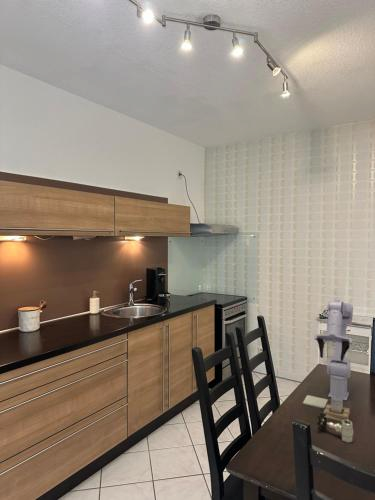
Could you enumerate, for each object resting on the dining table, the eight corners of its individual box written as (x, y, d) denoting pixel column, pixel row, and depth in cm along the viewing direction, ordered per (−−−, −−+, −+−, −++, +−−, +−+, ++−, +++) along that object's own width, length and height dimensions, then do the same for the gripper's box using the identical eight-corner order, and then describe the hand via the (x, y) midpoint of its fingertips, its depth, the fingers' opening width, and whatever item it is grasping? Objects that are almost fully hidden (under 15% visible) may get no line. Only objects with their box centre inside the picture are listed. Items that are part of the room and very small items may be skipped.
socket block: (327, 408, 152) (327, 403, 152) (349, 413, 147) (349, 408, 147) (323, 416, 144) (323, 412, 144) (347, 422, 139) (347, 417, 139)
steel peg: (332, 412, 148) (332, 395, 148) (342, 414, 146) (342, 398, 146) (330, 416, 145) (330, 399, 145) (341, 418, 143) (341, 401, 143)
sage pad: (307, 396, 164) (307, 395, 164) (327, 400, 159) (327, 399, 159) (302, 403, 156) (302, 402, 156) (324, 408, 151) (324, 407, 151)
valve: (356, 438, 128) (324, 426, 137) (356, 420, 128) (324, 409, 136) (349, 445, 123) (316, 432, 132) (349, 427, 123) (316, 415, 132)
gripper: (314, 321, 148) (311, 351, 141) (352, 325, 141) (350, 357, 134) (317, 328, 153) (313, 358, 146) (353, 332, 146) (351, 364, 139)
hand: (331, 358), depth 140 cm, fingers open, 7 cm apart
